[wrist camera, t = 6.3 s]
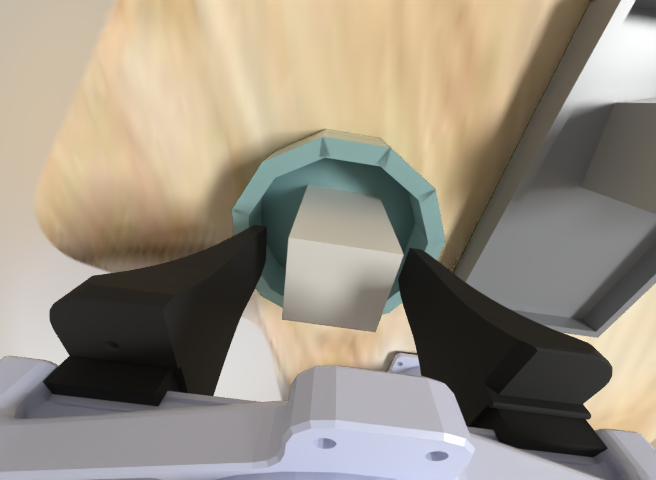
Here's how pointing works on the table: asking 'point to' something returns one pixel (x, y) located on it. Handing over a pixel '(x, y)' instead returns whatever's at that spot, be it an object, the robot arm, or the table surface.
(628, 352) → the table surface
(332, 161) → the bowl
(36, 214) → the table surface
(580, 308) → the tray
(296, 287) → the beige rectangular block
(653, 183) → the light gray rectangular block
